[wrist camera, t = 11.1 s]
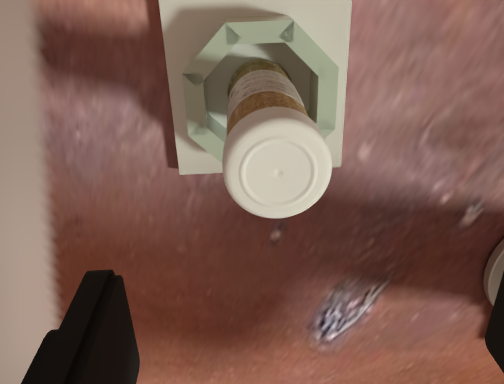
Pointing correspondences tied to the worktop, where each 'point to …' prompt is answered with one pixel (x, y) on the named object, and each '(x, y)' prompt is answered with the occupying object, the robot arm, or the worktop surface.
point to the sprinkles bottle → (272, 144)
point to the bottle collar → (244, 50)
